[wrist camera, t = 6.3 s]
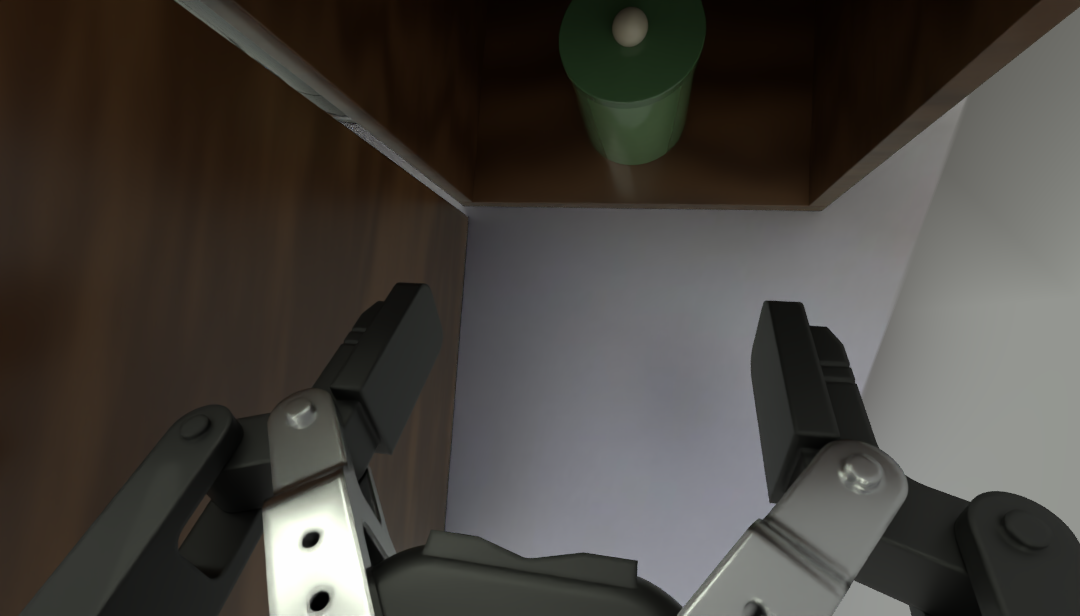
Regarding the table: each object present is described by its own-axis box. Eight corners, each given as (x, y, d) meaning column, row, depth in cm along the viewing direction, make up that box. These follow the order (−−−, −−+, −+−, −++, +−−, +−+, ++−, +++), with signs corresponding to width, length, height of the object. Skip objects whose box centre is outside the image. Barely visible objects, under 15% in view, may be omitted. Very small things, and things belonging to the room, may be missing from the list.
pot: (577, 168, 32) (548, 93, 23) (584, 66, 33) (558, -51, 23) (687, 168, 31) (706, 88, 21) (693, 61, 31) (713, -65, 22)
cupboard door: (354, 543, 34) (-446, 1075, 9) (383, 215, 36) (-242, -101, 11) (442, 557, 33) (-207, 1221, 8) (468, 216, 34) (-11, -138, 9)
